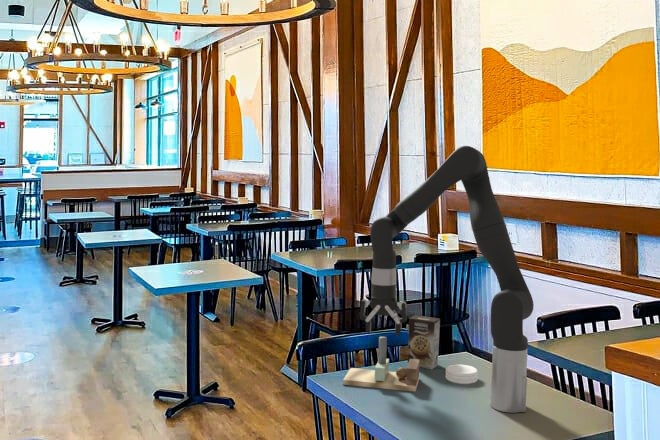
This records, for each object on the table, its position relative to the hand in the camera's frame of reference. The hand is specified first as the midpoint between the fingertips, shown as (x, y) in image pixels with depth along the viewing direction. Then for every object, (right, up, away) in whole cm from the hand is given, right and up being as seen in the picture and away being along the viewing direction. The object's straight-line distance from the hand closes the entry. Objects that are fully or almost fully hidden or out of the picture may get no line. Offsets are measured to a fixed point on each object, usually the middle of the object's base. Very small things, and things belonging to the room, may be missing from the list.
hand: (383, 334), depth 191 cm
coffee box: (+15, -14, +19) cm, 28 cm away
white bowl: (+25, -16, +6) cm, 30 cm away
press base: (0, -15, +1) cm, 15 cm away
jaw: (0, -13, +1) cm, 13 cm away
